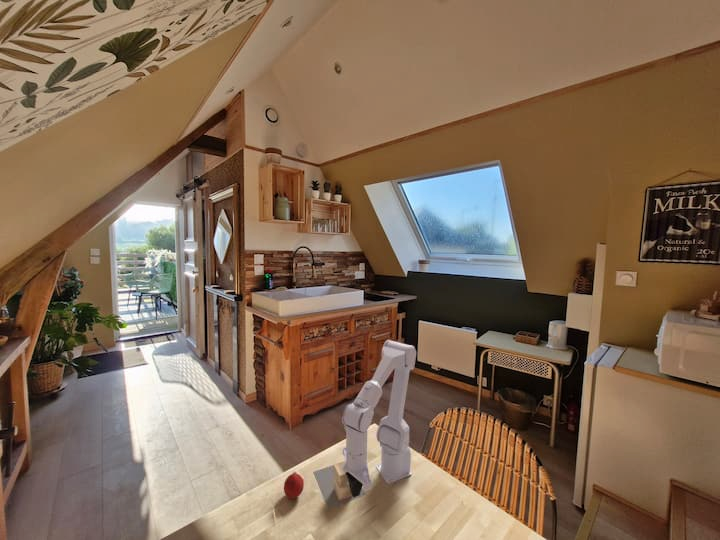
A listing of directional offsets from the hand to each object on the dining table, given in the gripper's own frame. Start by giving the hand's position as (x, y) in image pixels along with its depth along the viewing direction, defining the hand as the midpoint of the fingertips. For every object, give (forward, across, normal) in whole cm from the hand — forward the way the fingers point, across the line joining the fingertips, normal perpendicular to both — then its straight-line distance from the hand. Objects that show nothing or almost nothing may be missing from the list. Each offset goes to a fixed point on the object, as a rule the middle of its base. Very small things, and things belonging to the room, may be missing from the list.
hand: (355, 494), depth 80 cm
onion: (+7, -14, -14) cm, 21 cm away
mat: (+7, -12, 0) cm, 14 cm away
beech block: (+6, -8, 0) cm, 11 cm away
